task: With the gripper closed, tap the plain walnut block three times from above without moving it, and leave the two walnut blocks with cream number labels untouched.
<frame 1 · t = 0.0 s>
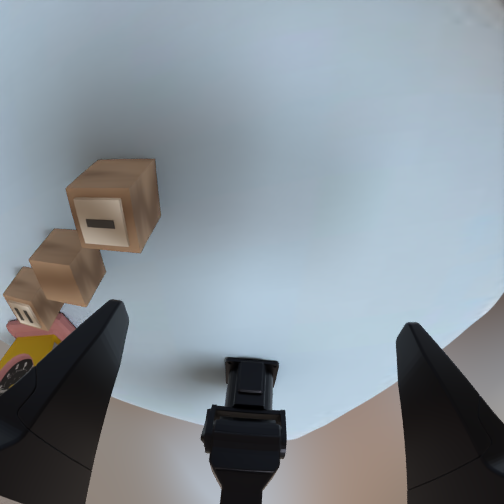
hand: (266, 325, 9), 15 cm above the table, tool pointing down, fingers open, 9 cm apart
numbered block a: (129, 187, 23), on the table
plain block: (80, 249, 27), on the table
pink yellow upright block: (51, 335, 39), on the table
numbered block b: (44, 283, 31), on the table
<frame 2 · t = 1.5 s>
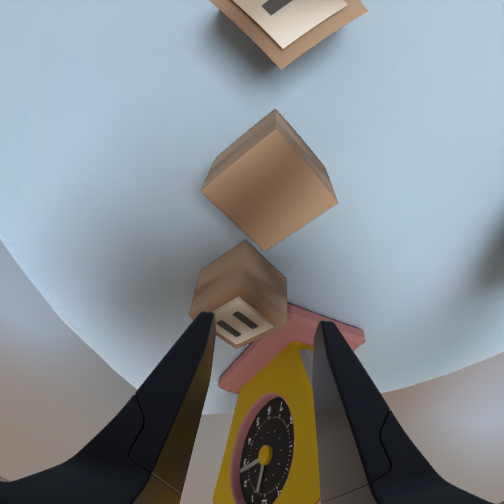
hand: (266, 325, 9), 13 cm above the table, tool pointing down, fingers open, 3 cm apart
numbered block a: (282, 10, 13), on the table
plain block: (270, 160, 19), on the table
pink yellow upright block: (284, 356, 33), on the table
numbered block b: (243, 273, 26), on the table
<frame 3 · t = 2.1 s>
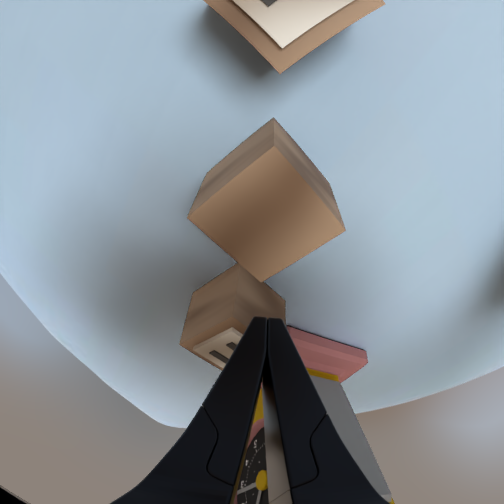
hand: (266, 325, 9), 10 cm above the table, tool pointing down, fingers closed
numbered block a: (282, 3, 11), on the table
plain block: (268, 176, 17), on the table
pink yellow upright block: (283, 375, 31), on the table
numbered block b: (238, 296, 23), on the table
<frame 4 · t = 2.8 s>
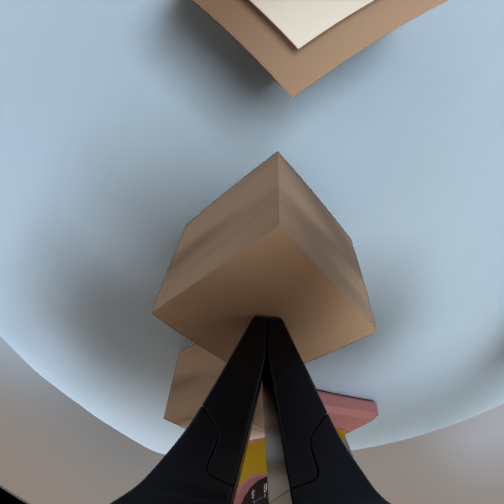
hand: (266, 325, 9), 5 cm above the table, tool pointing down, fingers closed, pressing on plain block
plain block: (269, 231, 13), on the table, touching gripper
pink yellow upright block: (284, 422, 27), on the table
numbered block b: (233, 357, 19), on the table
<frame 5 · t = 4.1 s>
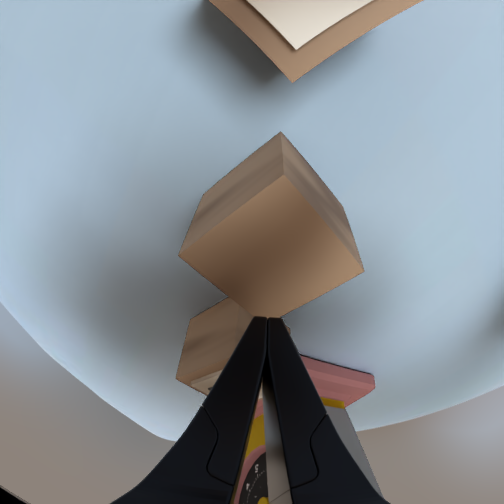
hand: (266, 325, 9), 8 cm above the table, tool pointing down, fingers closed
plain block: (273, 198, 15), on the table
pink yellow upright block: (286, 398, 29), on the table
numbered block b: (239, 324, 21), on the table
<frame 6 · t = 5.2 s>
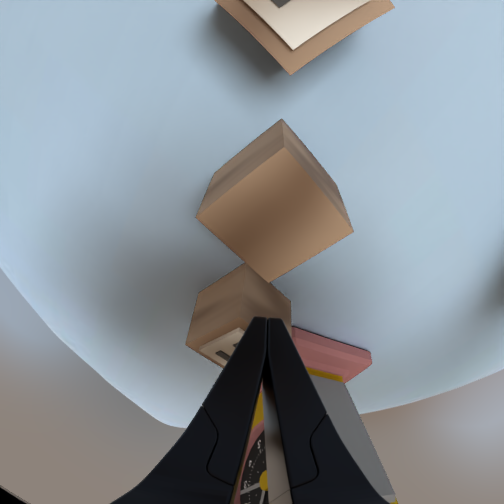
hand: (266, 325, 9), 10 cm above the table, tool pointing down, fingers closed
numbered block a: (290, 5, 11), on the table
plain block: (275, 177, 17), on the table
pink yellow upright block: (287, 376, 31), on the table
numbered block b: (244, 296, 24), on the table
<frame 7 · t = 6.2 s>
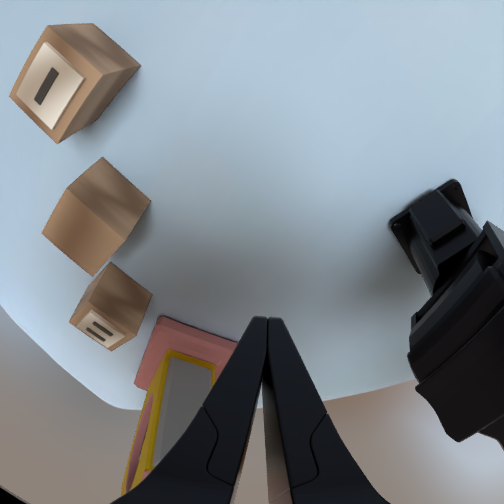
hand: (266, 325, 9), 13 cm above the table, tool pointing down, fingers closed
numbered block a: (94, 71, 16), on the table
plain block: (110, 198, 22), on the table
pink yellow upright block: (181, 362, 35), on the table
numbered block b: (119, 289, 28), on the table
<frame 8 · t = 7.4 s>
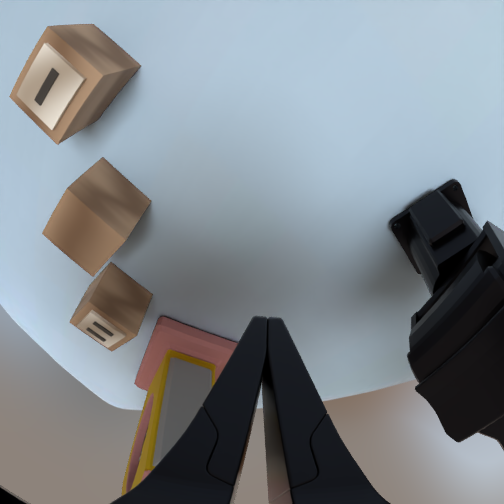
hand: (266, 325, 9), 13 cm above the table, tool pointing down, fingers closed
numbered block a: (94, 71, 16), on the table
plain block: (110, 199, 22), on the table
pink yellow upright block: (182, 362, 35), on the table
numbered block b: (119, 289, 28), on the table
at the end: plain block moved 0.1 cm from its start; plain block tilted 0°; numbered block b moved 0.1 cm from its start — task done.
